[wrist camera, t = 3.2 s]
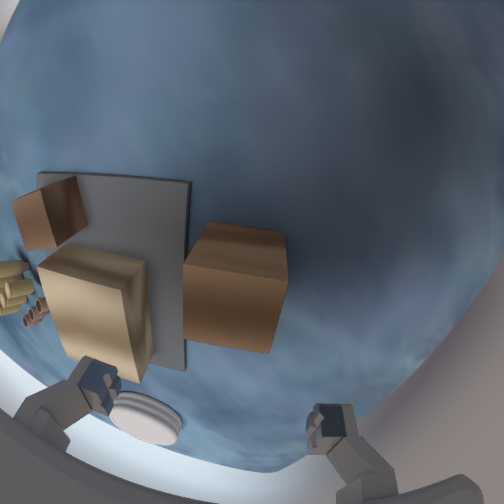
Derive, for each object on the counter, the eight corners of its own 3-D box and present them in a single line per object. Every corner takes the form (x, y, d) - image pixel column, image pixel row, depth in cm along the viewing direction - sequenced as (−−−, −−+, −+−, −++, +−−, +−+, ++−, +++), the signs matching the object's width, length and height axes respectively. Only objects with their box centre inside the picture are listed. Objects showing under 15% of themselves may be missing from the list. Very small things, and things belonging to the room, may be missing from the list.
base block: (65, 243, 19) (36, 266, 15) (145, 260, 19) (120, 290, 15) (86, 331, 23) (67, 356, 20) (154, 352, 23) (140, 383, 20)
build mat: (41, 172, 17) (36, 173, 16) (190, 181, 17) (187, 183, 16) (72, 333, 25) (70, 336, 24) (186, 367, 25) (184, 372, 24)
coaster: (180, 434, 33) (175, 452, 30) (119, 412, 33) (112, 429, 30) (185, 406, 29) (179, 429, 26) (111, 380, 28) (101, 400, 25)
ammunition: (-20, 291, 18) (20, 344, 21) (-11, 262, 16) (36, 327, 19) (4, 271, 23) (40, 320, 25) (19, 241, 20) (61, 300, 23)
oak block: (209, 220, 18) (183, 263, 13) (284, 232, 18) (288, 281, 13) (205, 283, 20) (183, 338, 15) (271, 294, 20) (269, 353, 15)
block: (44, 186, 17) (11, 201, 13) (75, 175, 16) (40, 189, 13) (56, 231, 18) (26, 251, 15) (88, 225, 18) (57, 247, 14)
